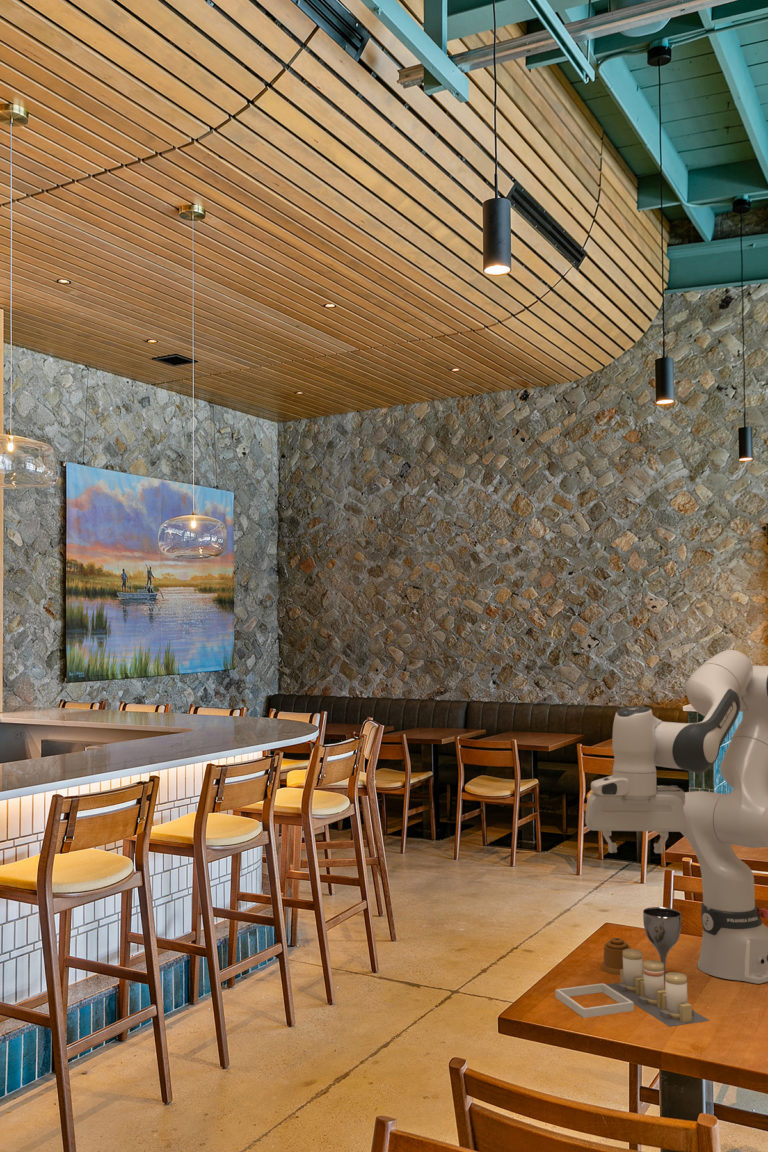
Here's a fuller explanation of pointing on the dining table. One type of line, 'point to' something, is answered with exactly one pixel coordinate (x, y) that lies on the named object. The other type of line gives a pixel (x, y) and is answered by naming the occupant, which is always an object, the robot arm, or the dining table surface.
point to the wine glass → (662, 929)
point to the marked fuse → (653, 980)
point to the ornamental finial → (614, 956)
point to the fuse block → (660, 1009)
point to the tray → (622, 1006)
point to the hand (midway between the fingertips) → (635, 852)
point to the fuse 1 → (632, 968)
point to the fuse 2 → (675, 993)
